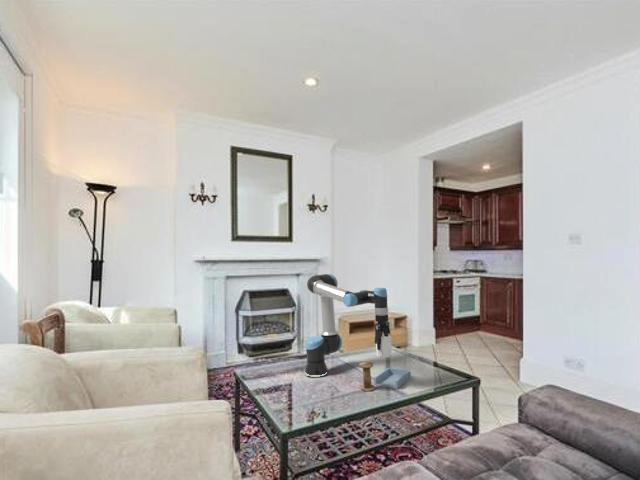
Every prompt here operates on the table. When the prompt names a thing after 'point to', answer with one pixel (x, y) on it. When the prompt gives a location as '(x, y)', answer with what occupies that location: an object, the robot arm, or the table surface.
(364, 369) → the bobbin post
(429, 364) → the table surface
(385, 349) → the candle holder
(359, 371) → the table surface
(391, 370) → the blue grey tray
